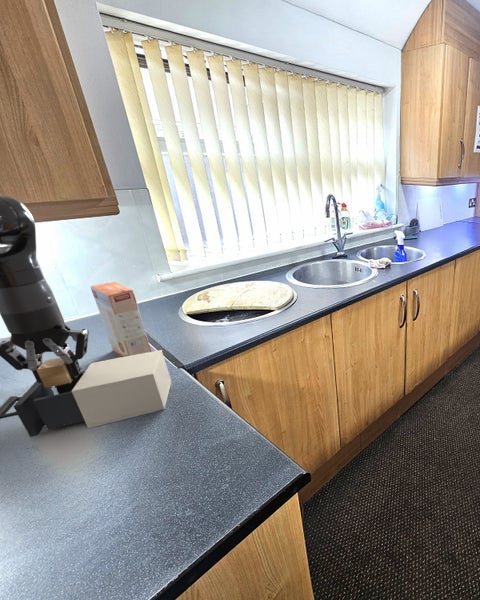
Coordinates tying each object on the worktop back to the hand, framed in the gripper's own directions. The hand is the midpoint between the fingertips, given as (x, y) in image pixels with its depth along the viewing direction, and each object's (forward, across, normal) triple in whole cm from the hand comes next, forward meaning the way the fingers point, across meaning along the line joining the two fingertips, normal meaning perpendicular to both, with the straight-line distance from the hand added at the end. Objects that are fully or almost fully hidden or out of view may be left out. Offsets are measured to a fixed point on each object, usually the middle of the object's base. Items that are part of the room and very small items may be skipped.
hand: (61, 379), depth 69 cm
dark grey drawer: (+9, +2, 0) cm, 9 cm away
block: (0, 0, 0) cm, 0 cm away
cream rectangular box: (+10, -10, 0) cm, 14 cm away
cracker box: (+10, -5, -28) cm, 30 cm away
